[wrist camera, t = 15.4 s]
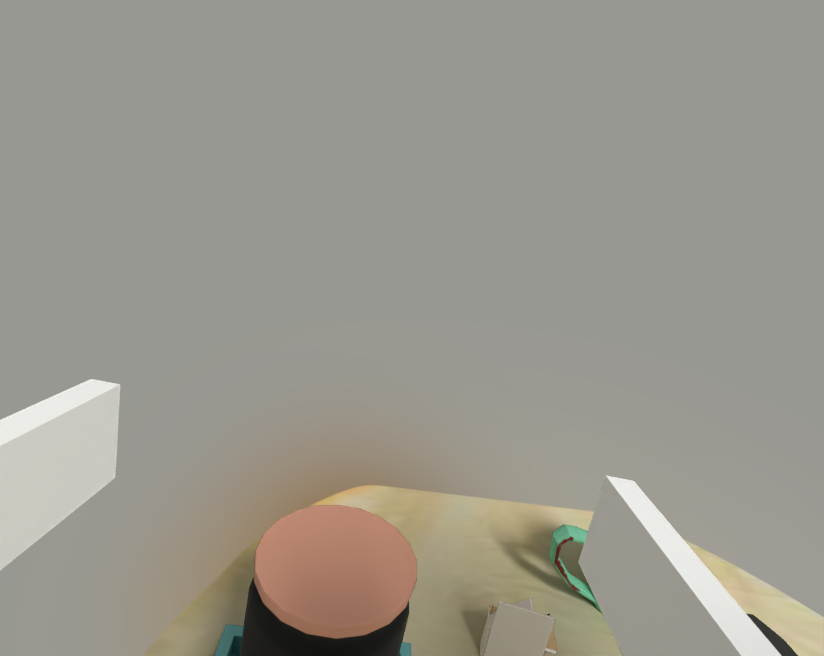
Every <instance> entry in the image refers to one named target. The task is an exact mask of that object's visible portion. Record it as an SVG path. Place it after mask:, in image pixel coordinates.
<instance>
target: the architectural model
mask: <svg viewBox="0 0 824 656" xmlns="http://www.w3.org/2000/svg"><path fill="white" fill-rule="evenodd" d="M548 615H550V614H547V615H545V614H541V613H538V612H535V611H533V604H532V598H530V597H529V598H527V599H524V600H522V601H520V602H517V603H515V604H513V605H510V604H507V603H504V602H500V601H499V603H498V606H497V608H496V607H494V606H493V605H492V607H490V606H489V608H488V617H487V620H486V624H485V627H484V631H483V634H482V638H481V641H480V656H543V655H544V652H545V651H548V652H551V653H555V654H556V652H557V648H556V643H555V638H554V633H553V625H554V622H555V617H552V616H548ZM485 646H486V647H485Z"/></svg>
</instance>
